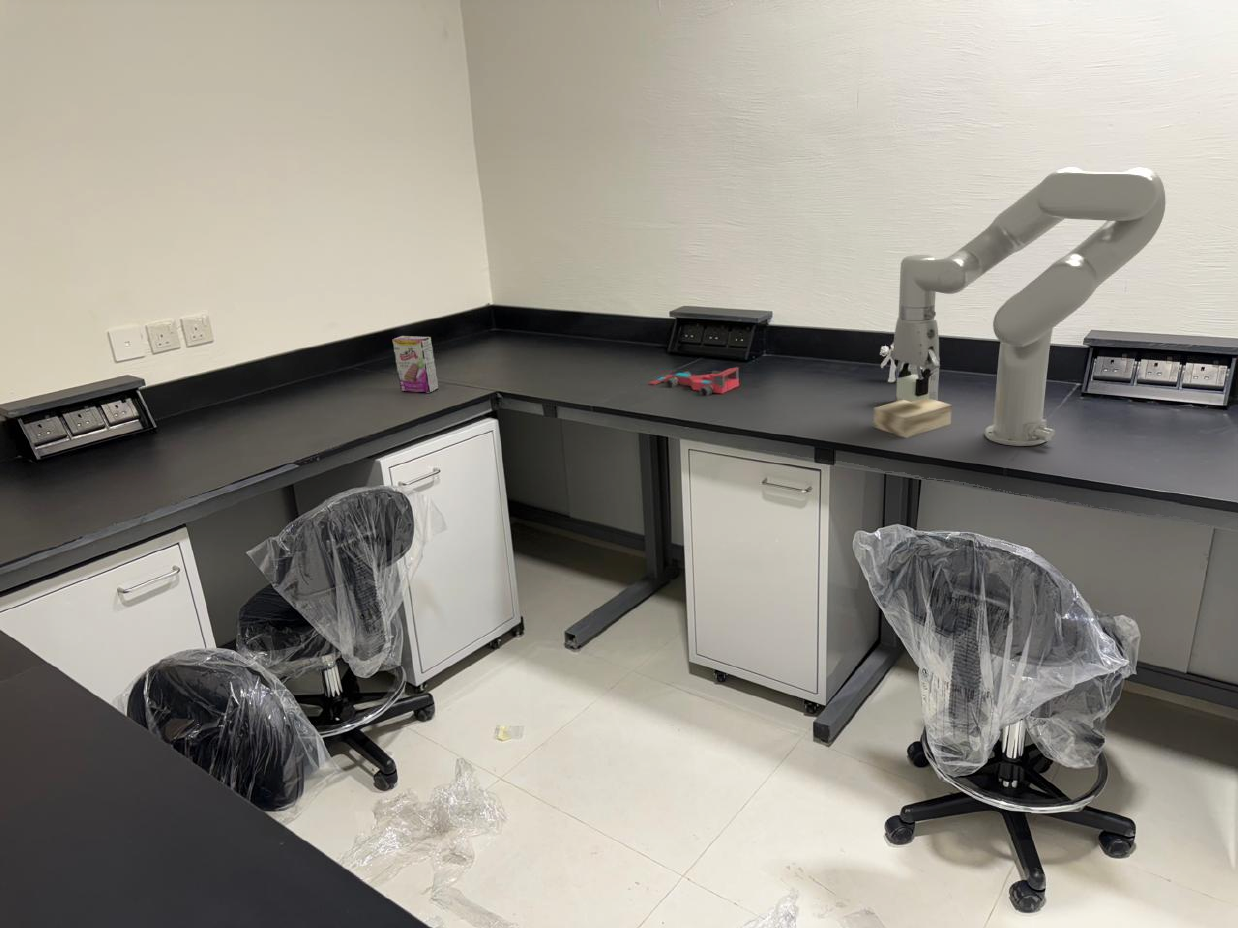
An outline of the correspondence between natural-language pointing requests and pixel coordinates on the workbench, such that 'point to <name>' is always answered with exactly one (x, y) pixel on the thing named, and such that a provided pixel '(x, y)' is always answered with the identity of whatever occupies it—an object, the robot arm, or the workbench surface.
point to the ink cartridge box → (933, 382)
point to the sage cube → (909, 389)
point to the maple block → (912, 416)
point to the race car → (704, 381)
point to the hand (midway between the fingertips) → (912, 391)
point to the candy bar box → (415, 363)
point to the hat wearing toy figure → (893, 366)
